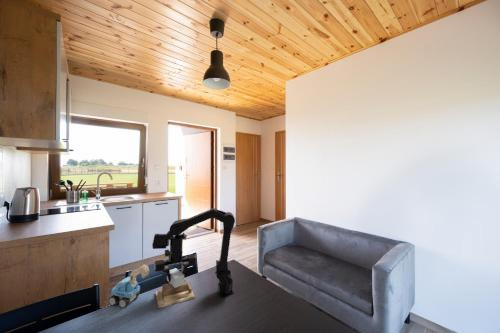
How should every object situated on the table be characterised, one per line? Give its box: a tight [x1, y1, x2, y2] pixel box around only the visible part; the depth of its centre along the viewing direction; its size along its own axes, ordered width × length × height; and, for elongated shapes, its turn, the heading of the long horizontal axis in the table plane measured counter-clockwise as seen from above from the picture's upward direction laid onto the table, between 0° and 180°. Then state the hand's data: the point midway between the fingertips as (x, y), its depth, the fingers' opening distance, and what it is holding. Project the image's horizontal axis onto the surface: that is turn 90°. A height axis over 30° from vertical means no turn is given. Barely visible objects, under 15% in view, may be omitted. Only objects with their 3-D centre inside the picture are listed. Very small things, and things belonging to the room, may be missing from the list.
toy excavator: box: [108, 264, 150, 309], centre depth 98 cm, size 9×17×17 cm, turn 78°
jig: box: [155, 283, 196, 309], centre depth 103 cm, size 16×12×3 cm
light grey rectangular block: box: [166, 267, 185, 288], centre depth 103 cm, size 9×4×4 cm, turn 44°
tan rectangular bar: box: [161, 279, 189, 299], centre depth 103 cm, size 11×4×4 cm, turn 119°
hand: (175, 280), depth 103 cm, fingers closed on light grey rectangular block, 5 cm apart
